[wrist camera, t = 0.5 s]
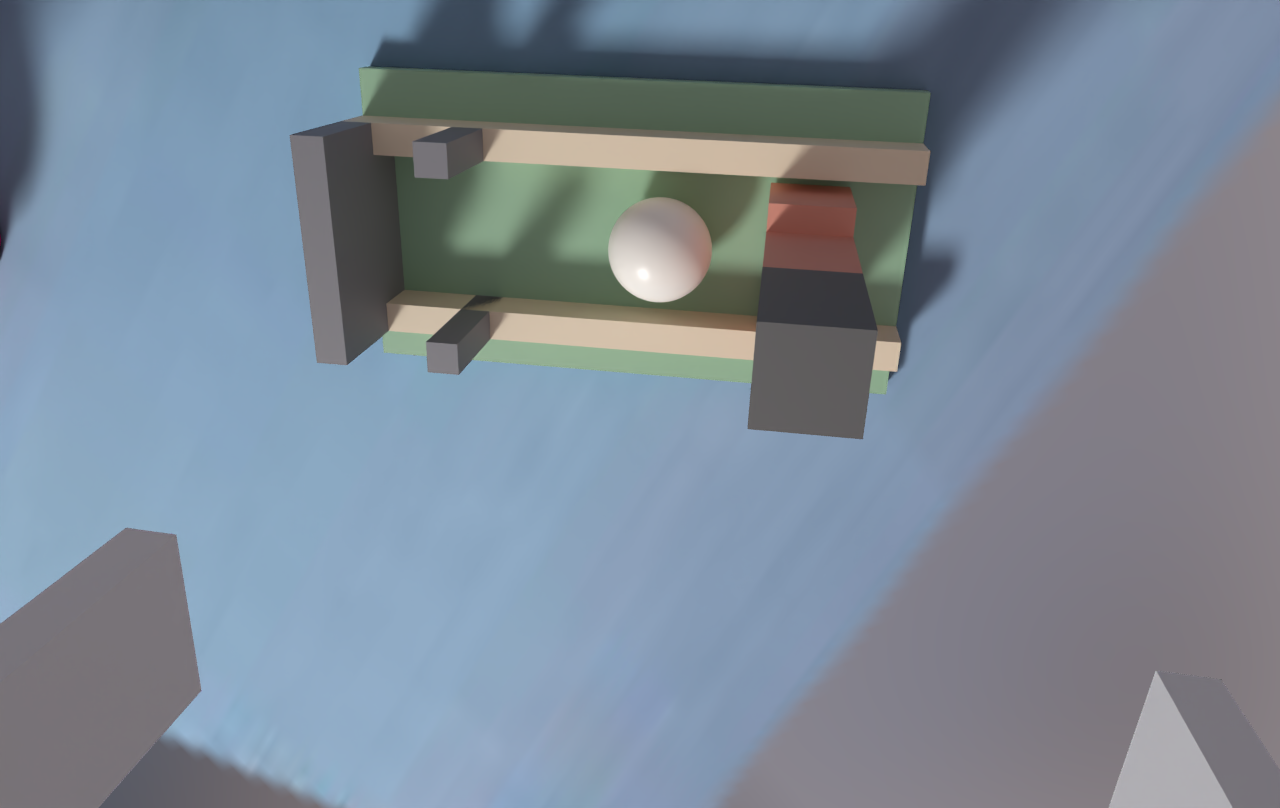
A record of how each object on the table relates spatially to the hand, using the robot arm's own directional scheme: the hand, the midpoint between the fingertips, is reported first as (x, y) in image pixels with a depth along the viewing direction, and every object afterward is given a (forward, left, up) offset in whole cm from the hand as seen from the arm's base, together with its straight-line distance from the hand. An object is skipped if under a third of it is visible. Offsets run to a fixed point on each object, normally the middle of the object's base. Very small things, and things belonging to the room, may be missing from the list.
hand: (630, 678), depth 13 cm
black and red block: (0, +3, -26) cm, 27 cm away
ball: (0, -3, -25) cm, 25 cm away
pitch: (0, -4, -28) cm, 28 cm away
